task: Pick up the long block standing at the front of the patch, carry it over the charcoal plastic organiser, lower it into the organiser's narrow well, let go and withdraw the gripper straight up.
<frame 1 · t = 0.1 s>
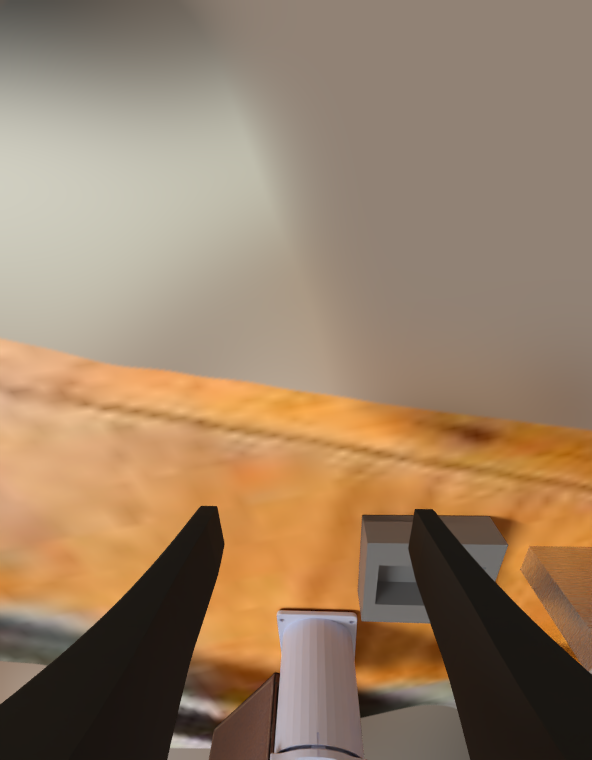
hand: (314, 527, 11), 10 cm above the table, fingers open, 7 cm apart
letter holder: (275, 708, 40), on the table
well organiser: (417, 557, 26), on the table
long block: (561, 558, 25), on the table
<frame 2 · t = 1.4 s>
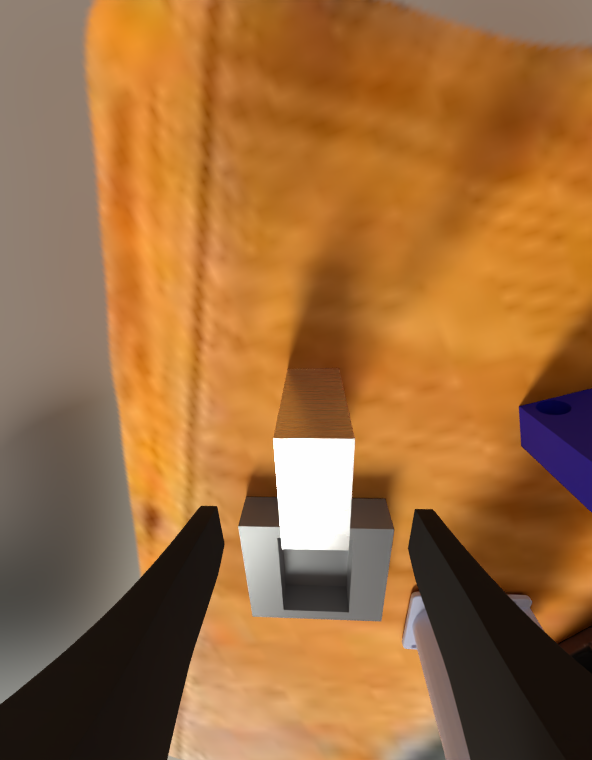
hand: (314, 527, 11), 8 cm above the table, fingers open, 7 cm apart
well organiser: (315, 545, 23), on the table
long block: (313, 412, 18), on the table
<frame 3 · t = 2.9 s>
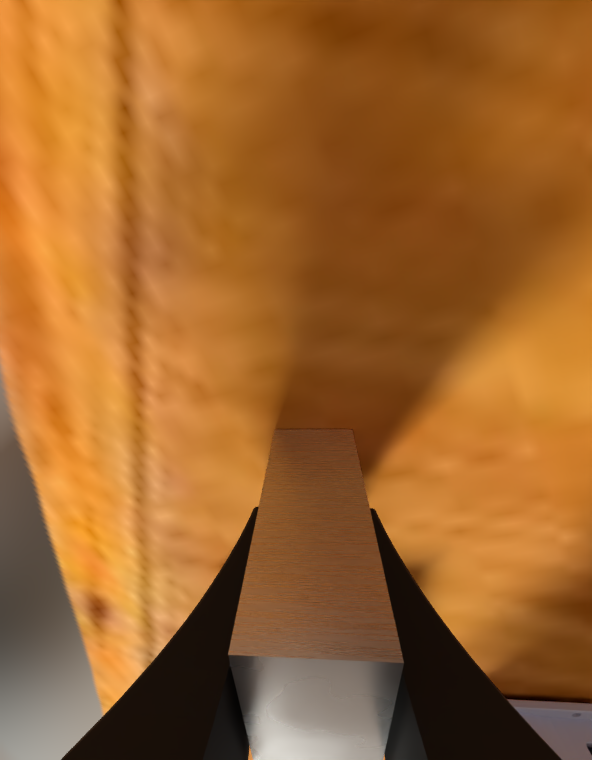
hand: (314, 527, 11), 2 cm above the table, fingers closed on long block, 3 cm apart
long block: (313, 488, 13), on the table, touching gripper
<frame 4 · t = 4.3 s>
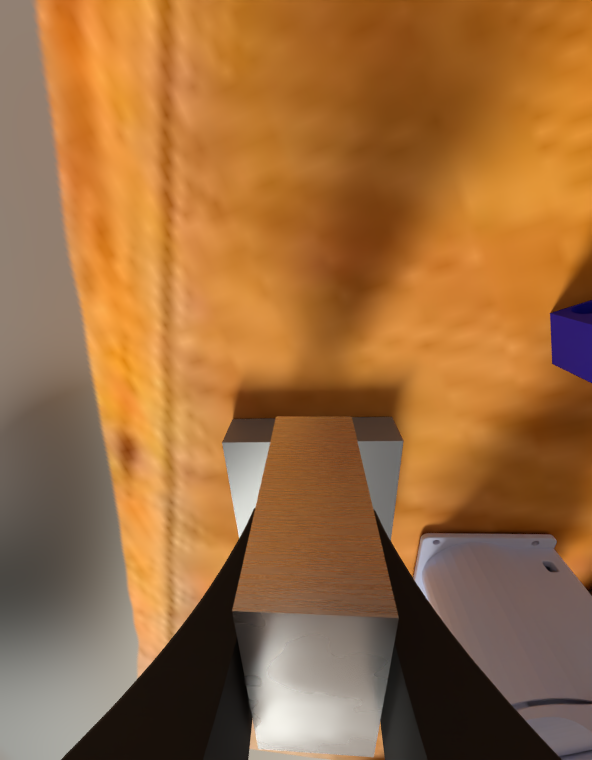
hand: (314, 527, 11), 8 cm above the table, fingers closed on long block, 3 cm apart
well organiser: (312, 479, 21), on the table
long block: (314, 475, 13), point 6 cm above the table, touching gripper
when the fingers open (3 cm above the table, at t = 5.9 s): long block stays where it is, resting on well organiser.
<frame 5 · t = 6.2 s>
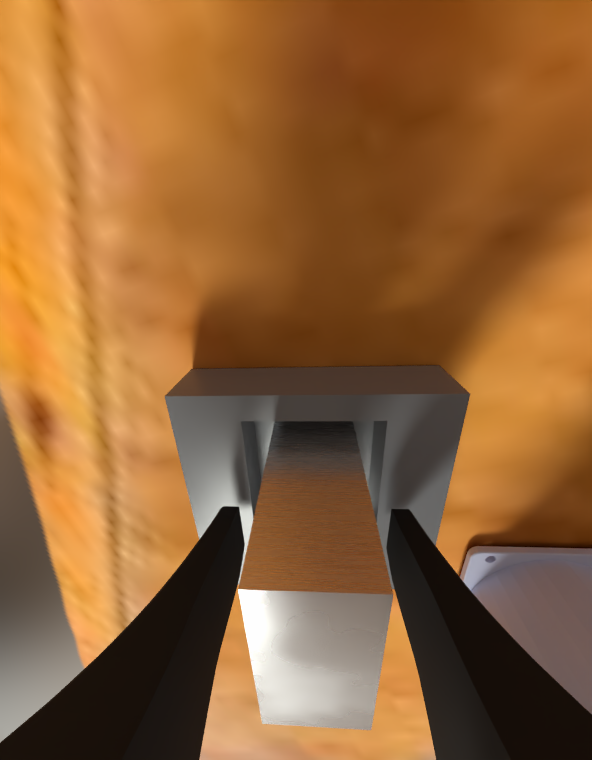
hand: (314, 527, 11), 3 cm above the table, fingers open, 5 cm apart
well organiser: (313, 465, 14), on the table
long block: (313, 468, 13), point 1 cm above the table, touching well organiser
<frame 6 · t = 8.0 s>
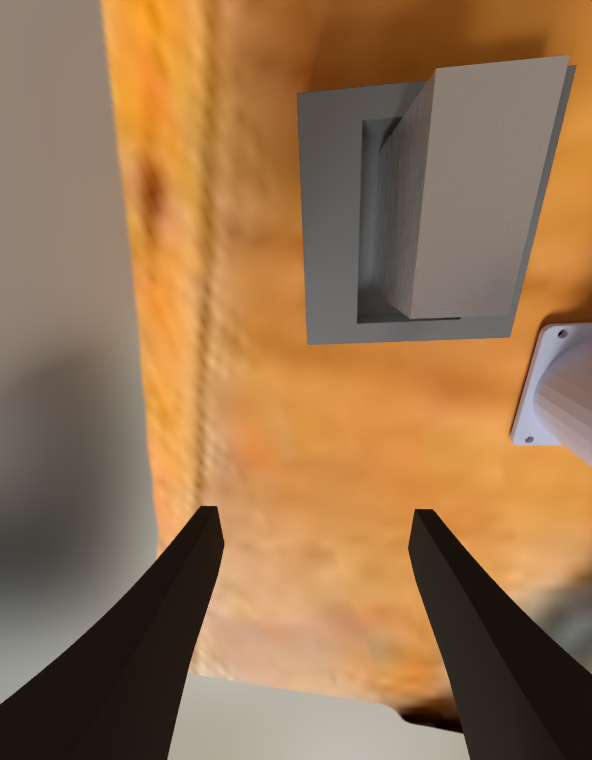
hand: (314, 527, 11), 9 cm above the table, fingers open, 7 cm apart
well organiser: (401, 233, 15), on the table
long block: (405, 225, 15), point 1 cm above the table, touching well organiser
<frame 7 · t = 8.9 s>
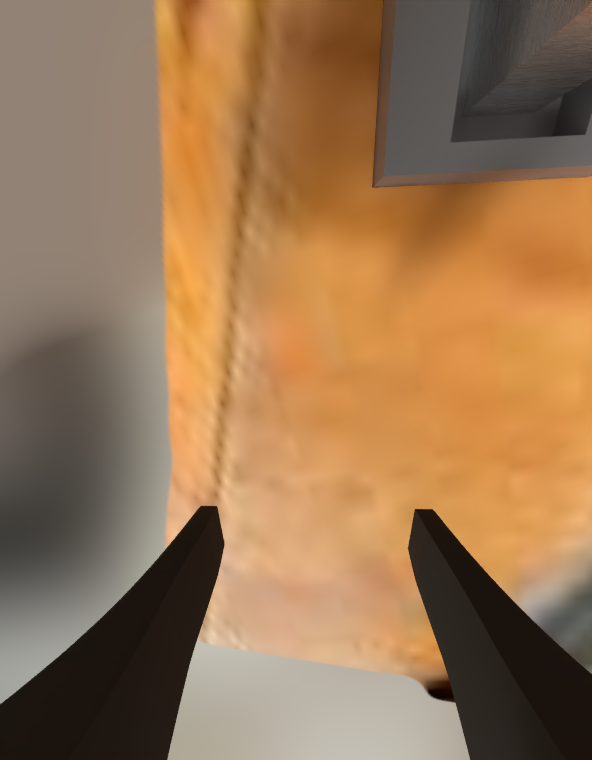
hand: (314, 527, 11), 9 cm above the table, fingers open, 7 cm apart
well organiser: (504, 37, 12), on the table
long block: (516, 15, 11), point 1 cm above the table, touching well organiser
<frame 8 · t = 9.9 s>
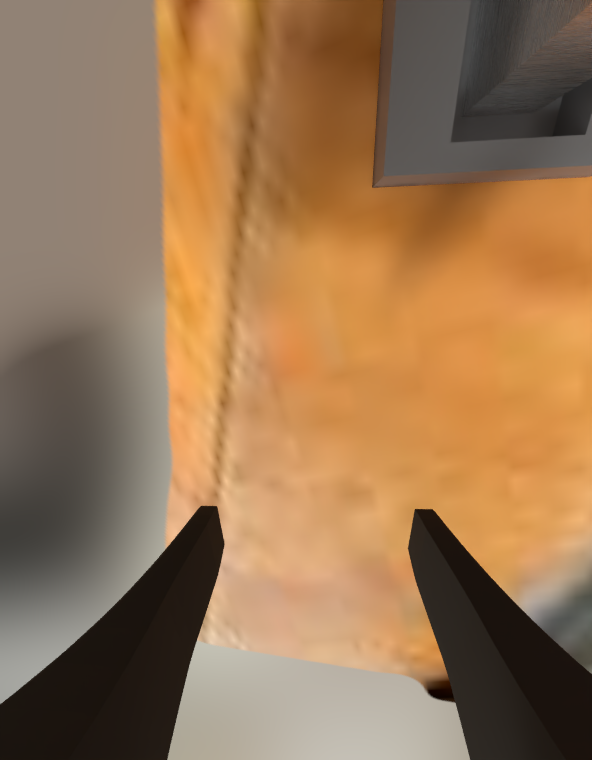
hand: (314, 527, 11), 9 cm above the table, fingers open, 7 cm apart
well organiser: (504, 37, 12), on the table
long block: (516, 15, 11), point 1 cm above the table, touching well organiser
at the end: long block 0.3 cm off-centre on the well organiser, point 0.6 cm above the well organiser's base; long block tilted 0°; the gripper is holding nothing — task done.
